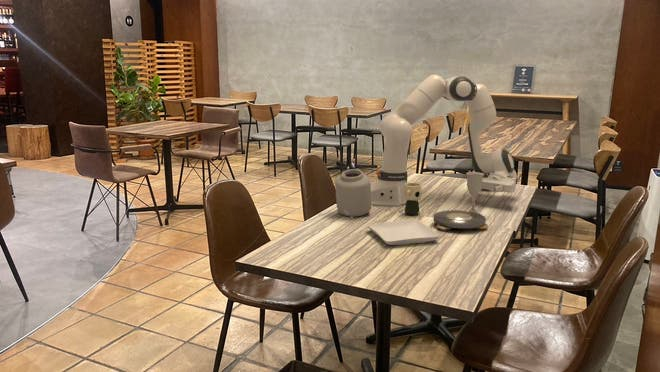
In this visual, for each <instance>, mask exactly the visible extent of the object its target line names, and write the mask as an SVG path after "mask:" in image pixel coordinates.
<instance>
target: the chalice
mask: <svg viewBox="0 0 660 372" xmlns="http://www.w3.org/2000/svg"><path fill="white" fill-rule="evenodd" d="M465 174H466V176H467V177H466V187H467V190H468V192H469V195H471V196H472V199H471V203H470V204H471V209H469V210H468V211H469V212H474V213H478V211H477V210H476V209H475V206H476V203H475V202H476V196H478V194H479V193H480V191H481V190H482V188H481V187H482V180H483V176H484V173H479V172H474V171H469V172H466V173H465Z"/></svg>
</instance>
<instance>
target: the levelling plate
mask: <svg viewBox="0 0 660 372" xmlns="http://www.w3.org/2000/svg"><path fill="white" fill-rule="evenodd" d="M486 220H487V218H486V217H485V216H484V215H482V214H480V213H478V212H477V213H474V212H469V210H458V209H457V210H456V209H455V210H453V209H452V210H451V209H449V210H441V211H438V212H435V213H434V214H433V222H434V223H435V224H436V228H437V229H438V230H442V231H451V230H452V229H463V230H464V229H465V230H466V229H467V230H469V229H470V230H471V229H472V230H480V231H481V230H485V229H486V230H487V229H488V228H489V225H488V224H487V223H486V222H487V221H486Z"/></svg>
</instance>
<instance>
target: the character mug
mask: <svg viewBox="0 0 660 372" xmlns="http://www.w3.org/2000/svg"><path fill="white" fill-rule="evenodd" d="M404 198H405V199H407V201H406V203H405V206H404V213H405V214H408V215H413V216H414V215H415V216H416V215H419V213H420V205H419V204H420V203H419V200H421V198H422V184H421V183H419V182H407V183H405V185H404Z"/></svg>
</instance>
